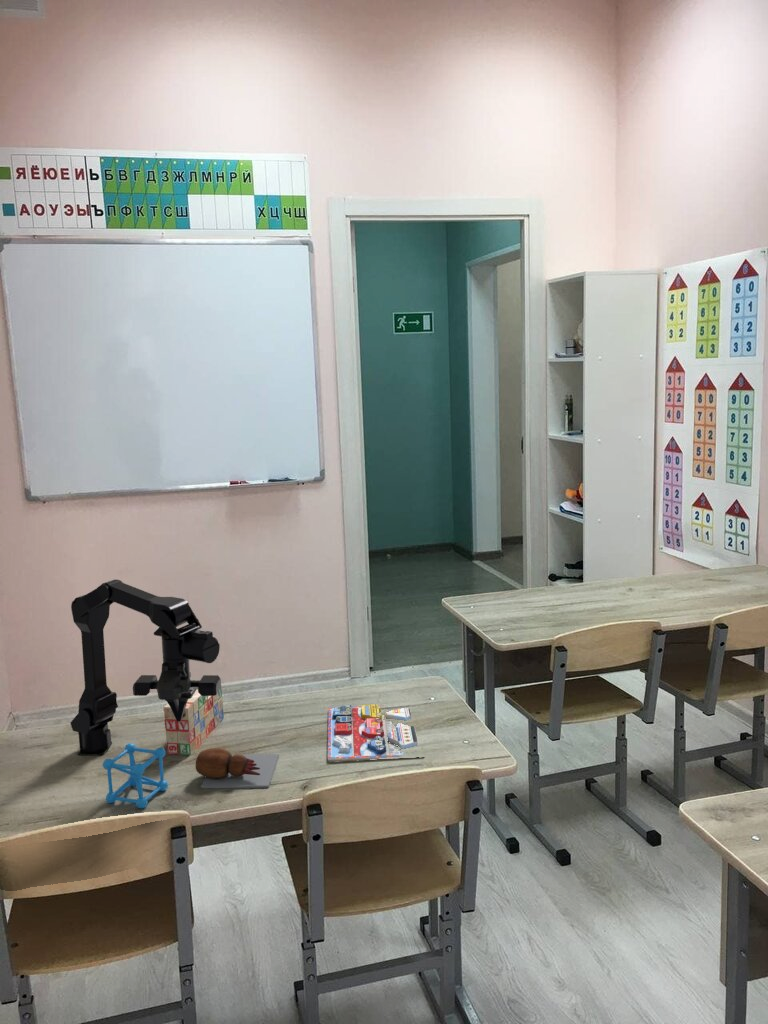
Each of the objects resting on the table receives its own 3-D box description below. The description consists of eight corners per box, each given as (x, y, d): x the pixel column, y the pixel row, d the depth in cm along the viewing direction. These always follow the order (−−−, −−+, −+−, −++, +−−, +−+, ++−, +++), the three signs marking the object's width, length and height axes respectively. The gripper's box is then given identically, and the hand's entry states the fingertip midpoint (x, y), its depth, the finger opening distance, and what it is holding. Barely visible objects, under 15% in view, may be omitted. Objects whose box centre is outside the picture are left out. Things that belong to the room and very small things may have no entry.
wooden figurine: (193, 781, 186) (257, 787, 184) (192, 757, 185) (257, 763, 183) (204, 765, 193) (266, 771, 191) (203, 742, 192) (266, 748, 189)
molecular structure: (103, 804, 179) (99, 760, 177) (132, 782, 188) (128, 740, 186) (143, 811, 175) (140, 767, 174) (170, 788, 185) (167, 746, 183)
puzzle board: (425, 760, 196) (425, 750, 195) (327, 765, 195) (327, 755, 194) (413, 708, 226) (413, 698, 225) (328, 712, 225) (328, 702, 224)
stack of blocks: (202, 717, 222) (199, 673, 220) (224, 718, 221) (221, 674, 219) (166, 754, 201) (163, 706, 199) (191, 756, 200) (187, 707, 198)
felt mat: (201, 788, 184) (201, 786, 184) (216, 756, 199) (216, 754, 199) (268, 787, 184) (268, 785, 184) (279, 756, 198) (278, 754, 198)
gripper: (122, 668, 179) (127, 736, 182) (209, 668, 179) (212, 736, 182) (138, 650, 190) (142, 714, 193) (220, 650, 190) (223, 715, 193)
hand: (179, 720), depth 190 cm, fingers closed
